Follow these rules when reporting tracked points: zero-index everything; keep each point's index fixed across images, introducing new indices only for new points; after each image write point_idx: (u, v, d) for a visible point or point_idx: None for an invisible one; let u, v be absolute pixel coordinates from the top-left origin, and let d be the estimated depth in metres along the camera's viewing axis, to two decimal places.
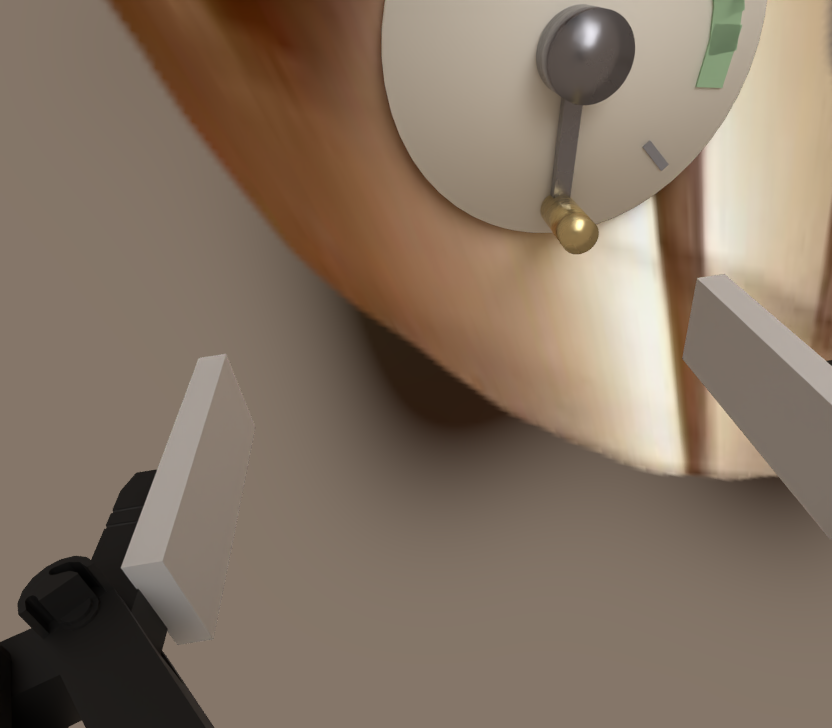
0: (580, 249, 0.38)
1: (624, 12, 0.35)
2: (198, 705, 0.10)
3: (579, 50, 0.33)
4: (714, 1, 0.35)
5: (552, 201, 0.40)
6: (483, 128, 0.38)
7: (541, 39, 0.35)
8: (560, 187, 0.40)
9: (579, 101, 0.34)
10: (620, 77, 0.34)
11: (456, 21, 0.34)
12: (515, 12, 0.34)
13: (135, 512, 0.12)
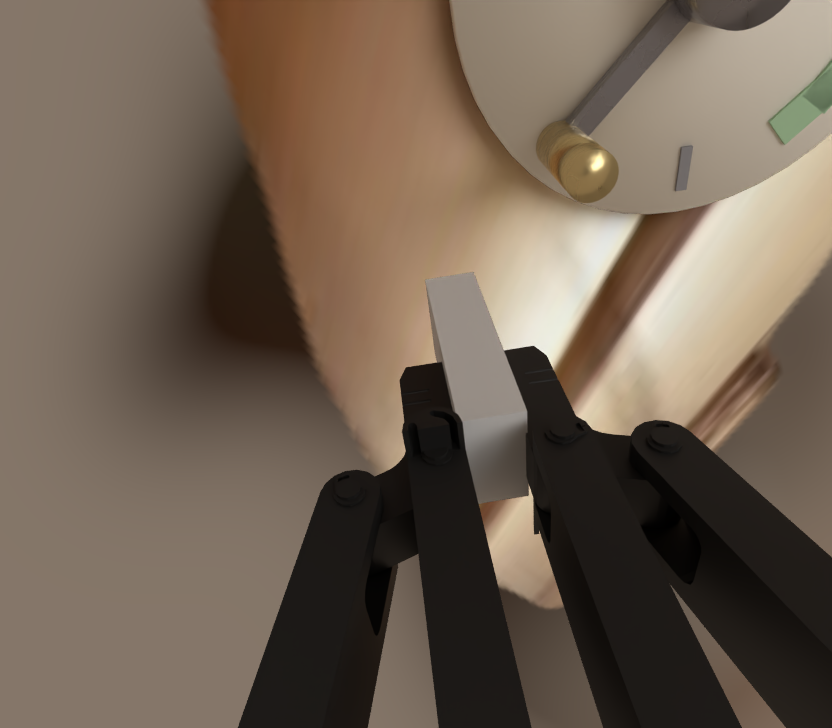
0: (580, 194, 0.26)
1: None
2: None
3: None
4: None
5: (568, 126, 0.28)
6: None
7: None
8: (586, 117, 0.28)
9: (703, 4, 0.24)
10: (758, 17, 0.24)
11: None
12: None
13: (424, 394, 0.14)
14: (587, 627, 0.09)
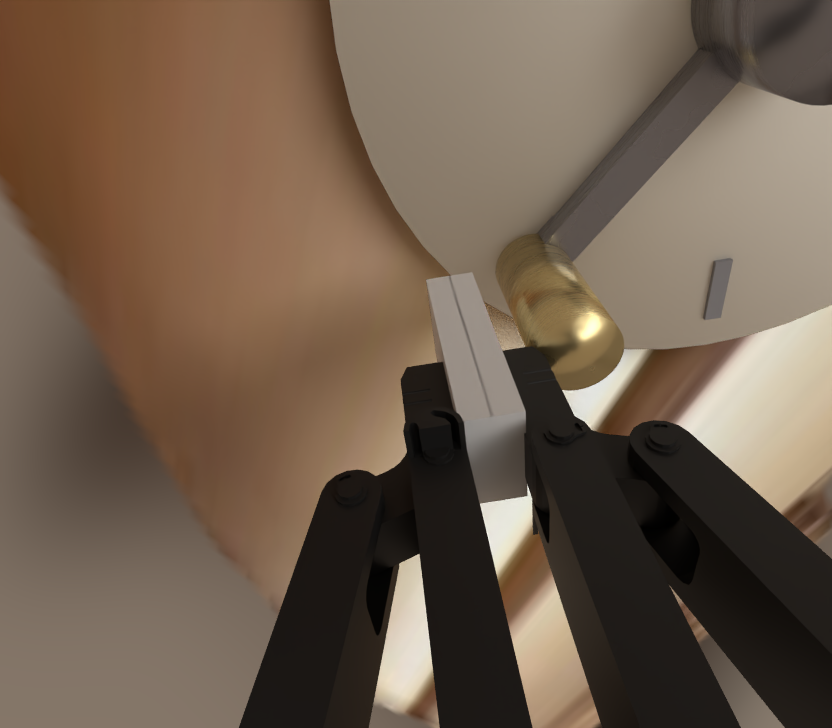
0: (560, 379, 0.16)
1: None
2: None
3: None
4: None
5: (542, 248, 0.18)
6: None
7: None
8: (570, 232, 0.18)
9: (770, 64, 0.13)
10: None
11: None
12: None
13: (425, 394, 0.14)
14: (586, 627, 0.09)
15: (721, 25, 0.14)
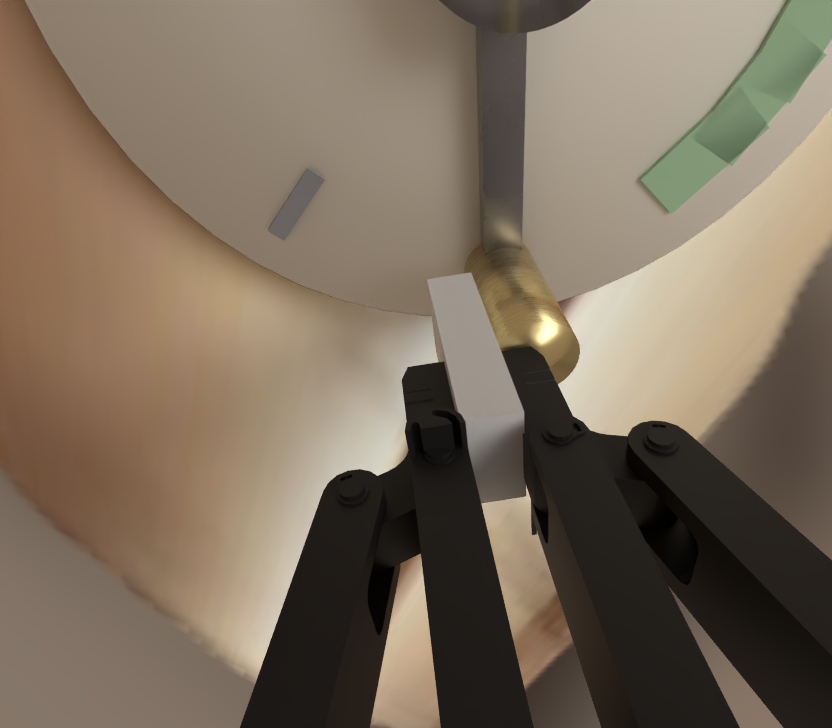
0: None
1: None
2: None
3: None
4: (767, 41, 0.16)
5: (482, 262, 0.18)
6: None
7: None
8: (497, 231, 0.18)
9: (504, 23, 0.13)
10: None
11: None
12: None
13: (426, 394, 0.14)
14: (585, 628, 0.09)
15: None
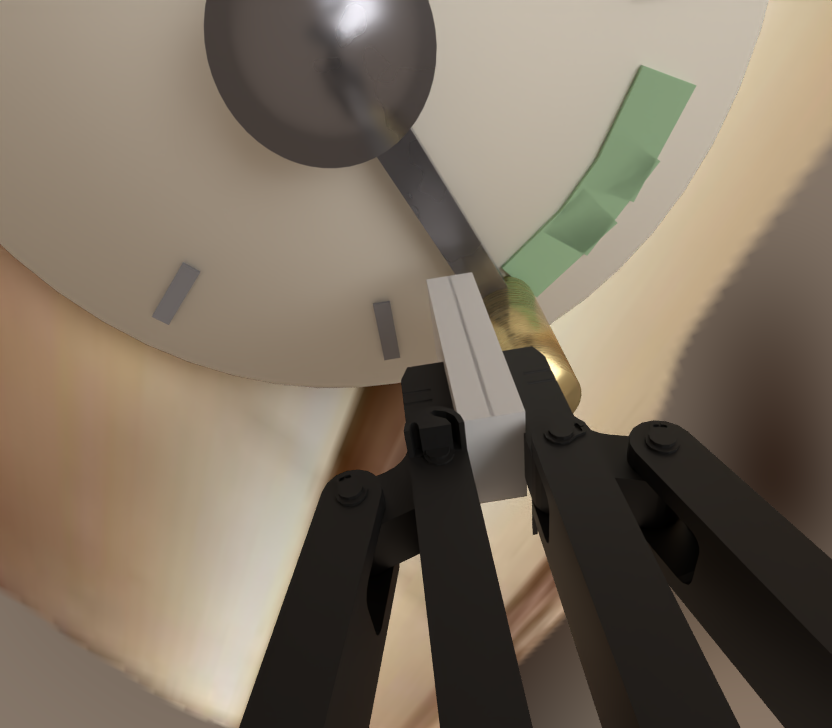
0: None
1: (457, 39, 0.15)
2: None
3: (281, 56, 0.12)
4: (603, 150, 0.17)
5: None
6: (52, 39, 0.15)
7: None
8: (476, 283, 0.19)
9: (366, 152, 0.14)
10: (421, 45, 0.13)
11: None
12: None
13: (425, 394, 0.14)
14: (586, 627, 0.09)
15: None
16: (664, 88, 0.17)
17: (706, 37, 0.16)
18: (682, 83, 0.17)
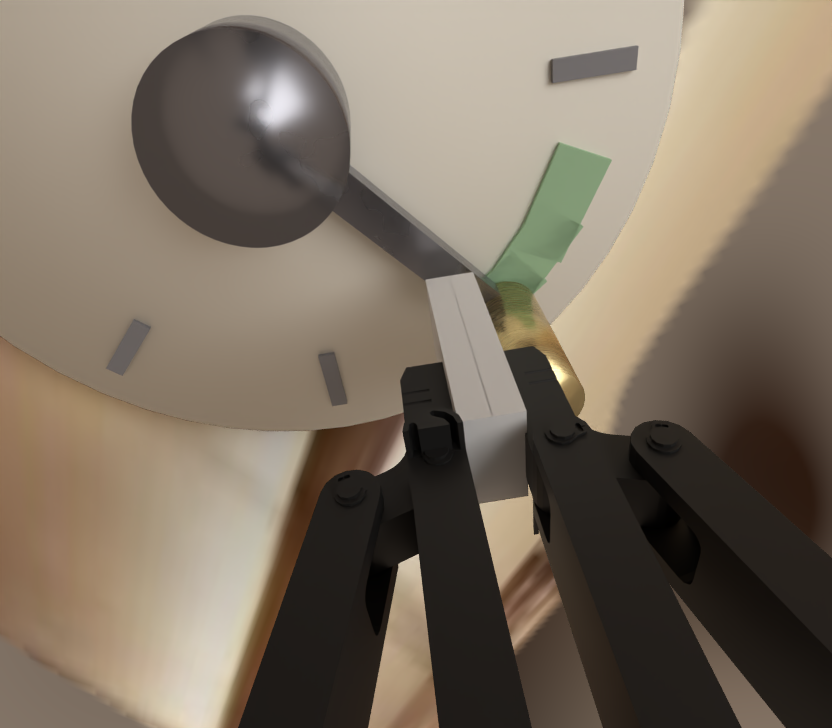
0: None
1: (383, 121, 0.17)
2: None
3: (210, 164, 0.14)
4: (528, 217, 0.19)
5: None
6: (1, 123, 0.16)
7: None
8: None
9: (312, 221, 0.15)
10: (328, 115, 0.13)
11: None
12: None
13: (424, 394, 0.14)
14: (587, 627, 0.09)
15: None
16: (582, 163, 0.18)
17: (618, 117, 0.17)
18: (598, 158, 0.18)
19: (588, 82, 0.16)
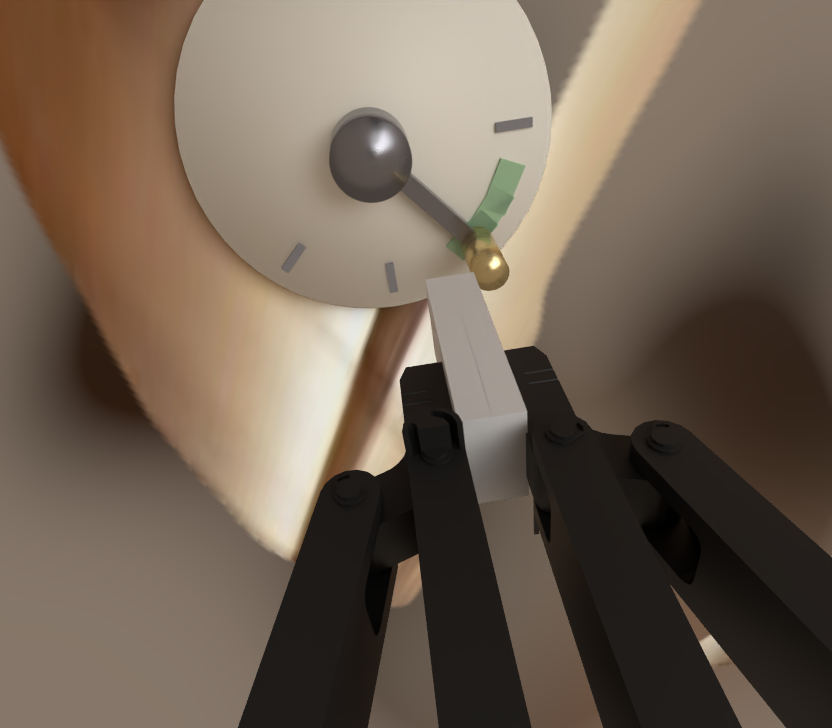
0: (501, 280, 0.38)
1: (422, 148, 0.38)
2: None
3: (356, 167, 0.35)
4: (488, 193, 0.40)
5: (462, 247, 0.40)
6: (258, 150, 0.37)
7: None
8: (459, 233, 0.40)
9: (394, 191, 0.36)
10: (404, 149, 0.34)
11: (282, 43, 0.33)
12: (337, 78, 0.35)
13: (424, 394, 0.14)
14: (587, 627, 0.09)
15: None
16: (511, 167, 0.39)
17: (527, 147, 0.38)
18: (519, 165, 0.39)
19: (512, 131, 0.37)
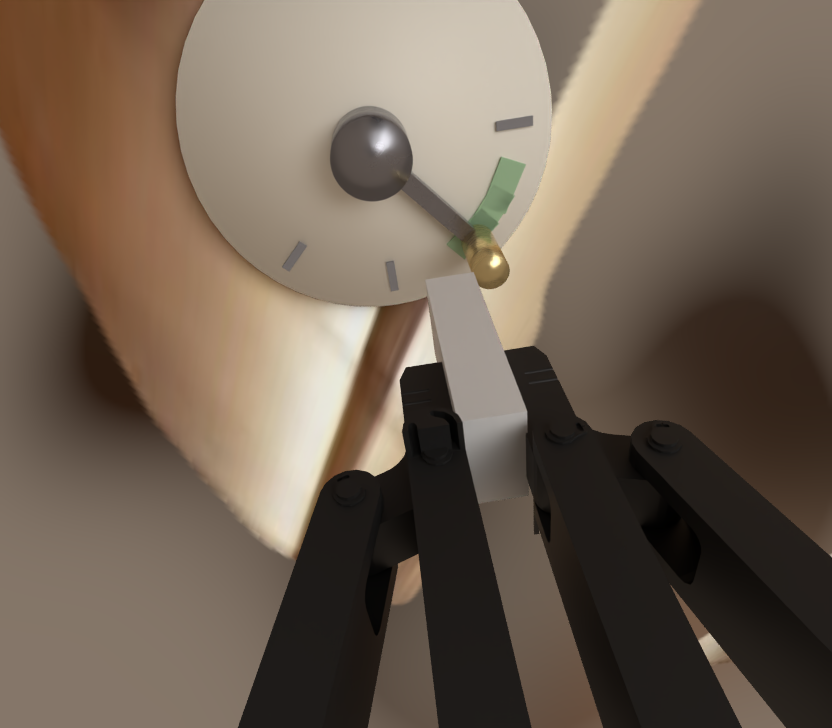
0: (502, 278, 0.38)
1: (422, 147, 0.38)
2: None
3: (357, 166, 0.35)
4: (488, 191, 0.40)
5: (463, 246, 0.41)
6: (259, 149, 0.37)
7: None
8: (459, 231, 0.40)
9: (395, 190, 0.36)
10: (405, 148, 0.34)
11: (283, 42, 0.33)
12: (338, 77, 0.35)
13: (424, 394, 0.14)
14: (587, 627, 0.09)
15: None
16: (512, 166, 0.39)
17: (527, 145, 0.38)
18: (519, 163, 0.39)
19: (512, 130, 0.38)
